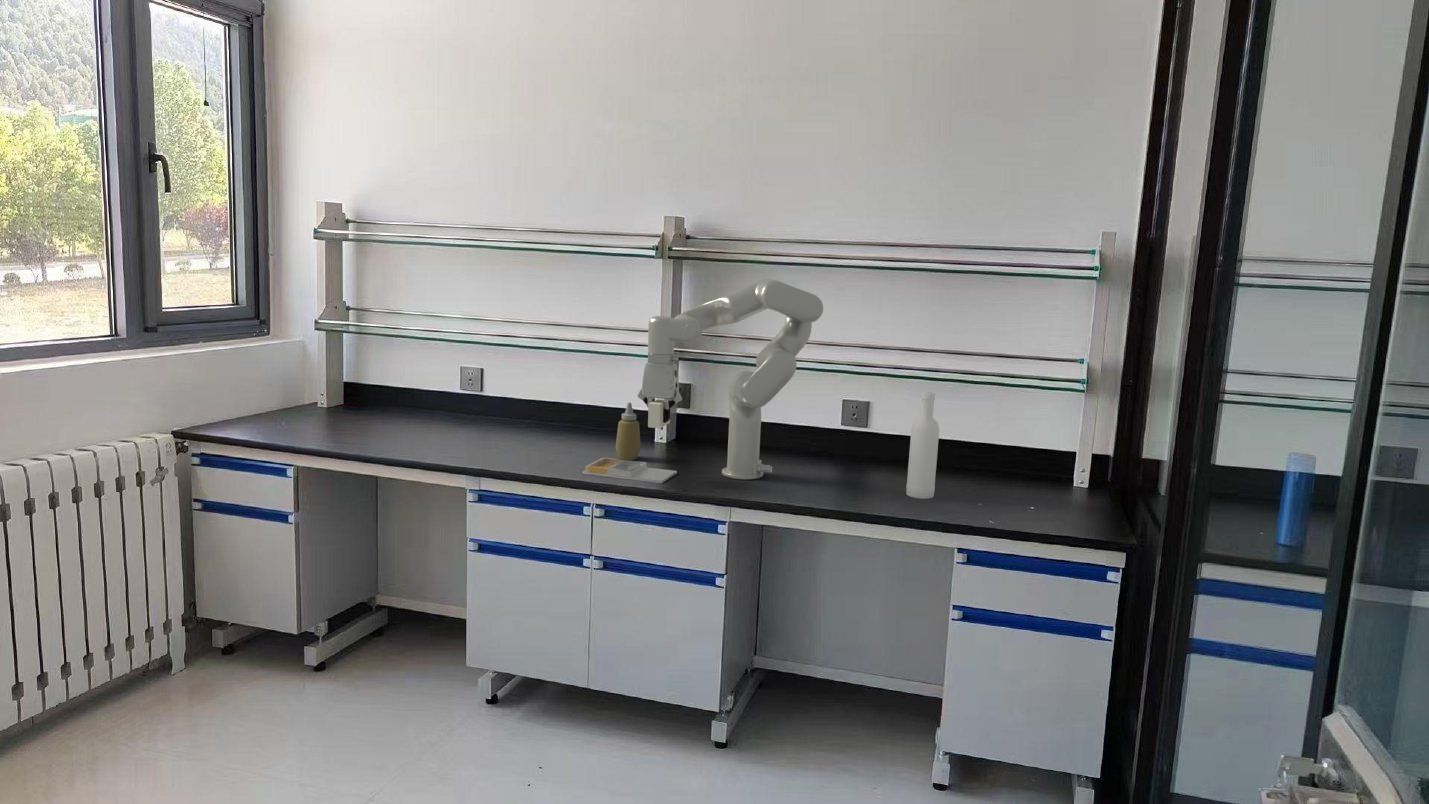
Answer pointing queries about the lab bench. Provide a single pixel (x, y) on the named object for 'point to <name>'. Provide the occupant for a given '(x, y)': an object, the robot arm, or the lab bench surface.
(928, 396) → the bottle
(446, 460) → the lab bench surface
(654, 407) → the tall ivory prism
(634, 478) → the grey framed tray board
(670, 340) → the robot arm
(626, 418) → the squeeze bottle
